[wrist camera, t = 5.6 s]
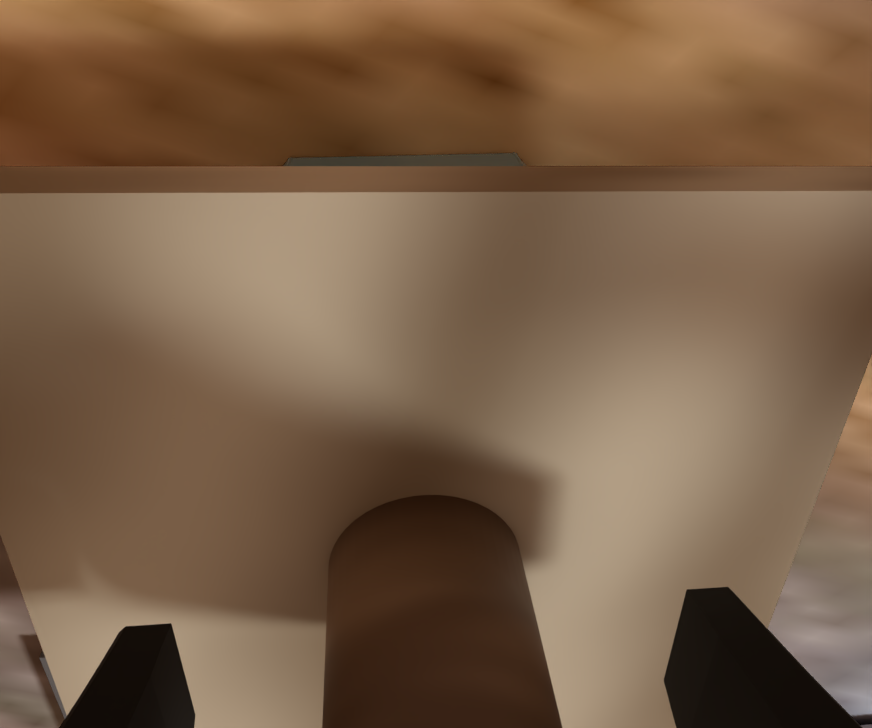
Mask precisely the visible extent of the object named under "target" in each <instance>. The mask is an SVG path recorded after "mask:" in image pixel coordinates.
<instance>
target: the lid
mask: <svg viewBox="0 0 872 728" xmlns="http://www.w3.org/2000/svg"><path fill="white" fill-rule="evenodd" d="M871 355H872V166H0V536H1V538H2V541H3V544H4V546H5V549H6V552H7V555H8V557H9V560H10V563H11V565H12V568H13V571H14V574H15V576H16V579H17V582H18V584H19V587H20V590H21V593H22V595H23V598H24V601H25V603H26V606H27V609H28V612H29V614H30V617H31V620H32V622H33V625H34V628H35V631H36V633H37V636H38V639H39V641H40V644H41V647H42V650H43V652H44V655H45V658H46V660H47V663H48V666H49V669H50V671H51V674H52V677H53V679H54V682H55V685H56V688H57V690H58V693H59V696H60V699H61V701H62V704H63V707H64V709H65V712H66V715H68V713H69V712H70V710H71V709H72V707H73V706H74V704H75V703H76V701H77V700H78V698H79V697H80V695H81V693H82V692H83V690H84V689H85V687H86V685H87V684H88V682H89V681H90V679H91V677H92V676H93V674H94V673H95V671H96V669H97V668H98V666H99V664H100V663H101V661H102V660H103V658H104V656H105V655H106V653H107V651H108V650H109V648H110V646H111V645H112V643H113V641H114V640H115V638H116V636H117V635H118V633H119V632H120V631H121V630H122V629H123V628H124V627H125V626H139V625H154V624H169V623H171V624H172V628H173V632H174V635H175V639H176V643H177V647H178V651H179V654H180V658H181V662H182V666H183V670H184V673H185V677H186V681H187V685H188V689H189V692H190V696H191V700H192V704H193V707H194V711H195V724H194V728H676V725H675V721H674V718H673V714H672V710H671V707H670V703H669V699H668V695H667V691H666V688H665V684H664V676H665V673H666V669H667V665H668V661H669V657H670V653H671V649H672V645H673V641H674V637H675V633H676V629H677V625H678V621H679V617H680V613H681V610H682V606H683V602H684V598H685V594H686V590H687V589H702V588H717V587H729V588H730V589H731V590H732V591H733V592H734V593H735V594H736V595H737V596H738V597H739V598H740V600H741V601H742V602H743V603H744V604H745V605H746V606H747V607H748V608H749V609H750V610H751V611H752V613H753V614H754V615H755V616H756V617H757V618H758V619H759V620H760V621H761V622H762V623H763V624H764V626H765V627H766V628H768V626H769V623H770V620H771V618H772V615H773V613H774V610H775V607H776V605H777V602H778V599H779V597H780V594H781V592H782V589H783V586H784V584H785V581H786V578H787V576H788V573H789V571H790V568H791V565H792V563H793V560H794V557H795V555H796V552H797V549H798V547H799V544H800V542H801V539H802V536H803V534H804V531H805V528H806V526H807V523H808V521H809V518H810V515H811V513H812V510H813V507H814V505H815V502H816V499H817V497H818V494H819V492H820V489H821V486H822V484H823V481H824V478H825V476H826V473H827V471H828V468H829V465H830V463H831V460H832V457H833V455H834V452H835V449H836V447H837V444H838V442H839V439H840V436H841V434H842V431H843V428H844V426H845V423H846V421H847V418H848V415H849V413H850V410H851V407H852V405H853V402H854V400H855V397H856V394H857V392H858V389H859V386H860V384H861V381H862V378H863V376H864V373H865V371H866V368H867V365H868V363H869V360H870V357H871Z"/></svg>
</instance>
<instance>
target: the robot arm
mask: <svg viewBox="0 0 872 728" xmlns="http://www.w3.org/2000/svg"><path fill="white" fill-rule="evenodd" d="M664 684H665V688H666V691H667V695H668V699H669V703H670V707H671V710H672V714H673V718H674V721H675V725H676V728H872V724H868V725H859V724H858V723H857V722H856V721H855V720H854V719H853V718H852V717H851V716H850V715H849V714H848V713H847V712H846V711H845V710H844V709H843V708H842V707H841V705H840V704H839V703H838V702H837V701H836V700H835V699H834V698H833V697H832V696H831V695H830V694H829V693H828V692H827V691H826V690H825V689H824V688H823V687H822V686H821V685H820V684H819V683H818V682H817V681H816V680H815V679H814V678H813V677H812V676H811V675H810V674H809V673H808V672H807V671H806V670H805V668H804V667H803V666H802V665H801V664H800V663H799V662H798V661H797V660H796V659H795V658H794V657H793V656H792V655H791V654H790V652H789V651H788V650H787V649H786V648H785V647H784V646H783V645H782V644H781V643H780V642H779V641H778V640H777V639H776V637H775V636H774V635H773V634H772V633H771V632H770V631H769V630H768V629H767V628H766V627H765V626H764V624H763V623H762V622H761V621H760V620H759V619H758V618H757V617H756V616H755V615H754V614H753V613H752V611H751V610H750V609H749V608H748V607H747V606H746V605H745V604H744V603H743V602H742V601H741V600H740V598H739V597H738V596H737V595H736V594H735V593H734V592H733V591H732V590H731V589H730V588H729V587H717V588H702V589H687V590H686V594H685V598H684V602H683V606H682V610H681V613H680V617H679V621H678V625H677V629H676V633H675V637H674V641H673V645H672V649H671V653H670V657H669V661H668V665H667V669H666V673H665V676H664ZM194 724H195V711H194V707H193V704H192V700H191V696H190V692H189V689H188V685H187V681H186V677H185V673H184V670H183V666H182V662H181V658H180V654H179V651H178V647H177V643H176V639H175V635H174V632H173V628H172V624H171V623H169V624H154V625H139V626H125V627H124V628H123V629H122V630H121V631H120V632H119V633H118V635H117V636H116V638H115V640H114V641H113V643H112V645H111V646H110V648H109V650H108V651H107V653H106V655H105V656H104V658H103V660H102V661H101V663H100V664H99V666H98V668H97V669H96V671H95V673H94V674H93V676H92V677H91V679H90V681H89V682H88V684H87V685H86V687H85V689H84V690H83V692H82V693H81V695H80V697H79V698H78V700H77V701H76V703H75V704H74V706H73V707H72V709H71V710H70V712H69V713H68V715H67V717H66V718H65V720H64V721H63V723H62V724H61V726H60V727H59V728H194Z"/></svg>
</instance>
